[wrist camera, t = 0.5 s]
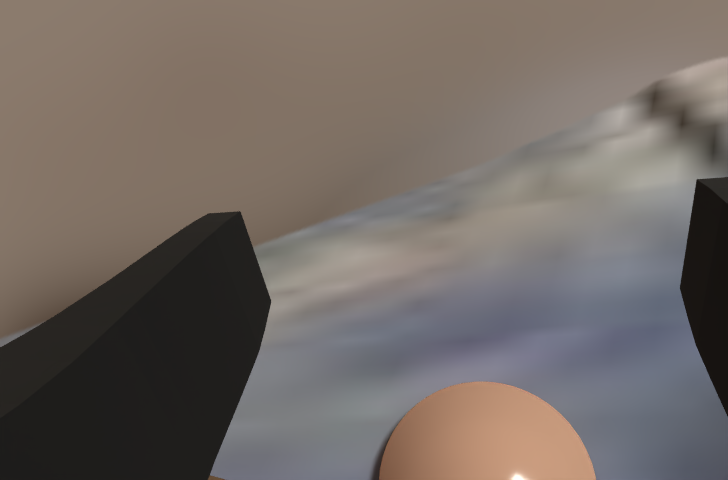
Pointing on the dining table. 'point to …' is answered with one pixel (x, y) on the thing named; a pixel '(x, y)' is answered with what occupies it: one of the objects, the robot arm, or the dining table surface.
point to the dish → (484, 438)
